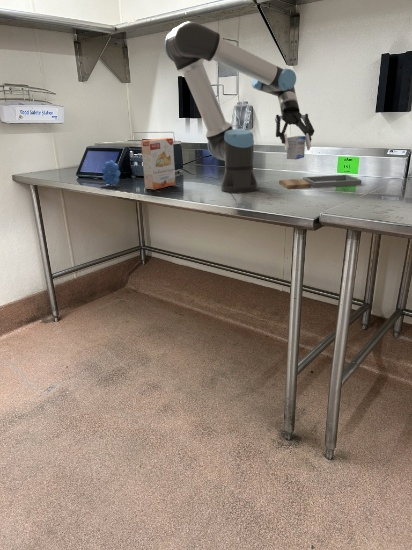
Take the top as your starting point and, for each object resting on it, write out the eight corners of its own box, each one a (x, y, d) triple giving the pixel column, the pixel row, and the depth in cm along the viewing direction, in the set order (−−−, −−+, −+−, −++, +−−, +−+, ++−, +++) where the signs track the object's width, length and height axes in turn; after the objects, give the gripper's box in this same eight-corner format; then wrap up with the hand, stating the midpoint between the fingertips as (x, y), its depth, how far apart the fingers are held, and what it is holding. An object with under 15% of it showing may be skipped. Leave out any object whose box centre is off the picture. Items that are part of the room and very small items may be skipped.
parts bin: (313, 187, 169) (314, 182, 168) (302, 181, 182) (302, 177, 182) (360, 185, 170) (361, 180, 169) (346, 179, 184) (346, 174, 183)
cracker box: (154, 191, 176) (149, 140, 168) (144, 190, 180) (139, 140, 172) (176, 186, 186) (173, 137, 178) (167, 184, 189) (163, 137, 181)
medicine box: (296, 159, 167) (297, 137, 163) (286, 159, 169) (287, 137, 166) (304, 157, 172) (305, 135, 169) (294, 157, 175) (295, 135, 172)
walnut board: (287, 189, 169) (287, 185, 168) (279, 183, 181) (279, 180, 180) (310, 187, 170) (311, 183, 169) (301, 182, 182) (301, 178, 181)
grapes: (128, 185, 191) (125, 159, 187) (117, 188, 186) (114, 161, 182) (111, 184, 198) (108, 158, 193) (100, 186, 193) (96, 160, 188)
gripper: (310, 111, 179) (321, 153, 170) (263, 113, 178) (270, 155, 169) (315, 98, 172) (326, 141, 163) (266, 100, 171) (274, 143, 162)
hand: (298, 148), depth 166 cm, fingers closed on medicine box, 8 cm apart
